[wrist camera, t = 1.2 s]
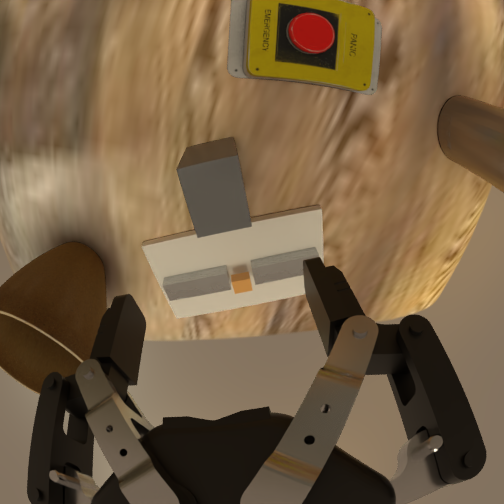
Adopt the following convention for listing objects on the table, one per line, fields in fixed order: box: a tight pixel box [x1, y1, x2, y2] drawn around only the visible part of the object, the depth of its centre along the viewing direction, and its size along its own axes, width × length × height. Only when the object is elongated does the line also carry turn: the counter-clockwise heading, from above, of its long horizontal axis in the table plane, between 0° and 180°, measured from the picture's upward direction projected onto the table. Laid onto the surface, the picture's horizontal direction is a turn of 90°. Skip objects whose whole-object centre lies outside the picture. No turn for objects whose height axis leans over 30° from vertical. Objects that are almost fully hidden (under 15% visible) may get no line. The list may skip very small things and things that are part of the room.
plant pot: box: [0, 242, 107, 395], centre depth 24 cm, size 15×15×16 cm
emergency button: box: [227, 0, 382, 95], centre depth 18 cm, size 9×4×15 cm
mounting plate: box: [142, 205, 324, 318], centre depth 33 cm, size 20×12×1 cm, turn 100°
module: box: [177, 137, 252, 238], centre depth 23 cm, size 4×6×7 cm
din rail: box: [162, 247, 319, 301], centre depth 32 cm, size 18×2×2 cm, turn 100°
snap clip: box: [231, 272, 253, 294], centre depth 31 cm, size 2×2×1 cm
